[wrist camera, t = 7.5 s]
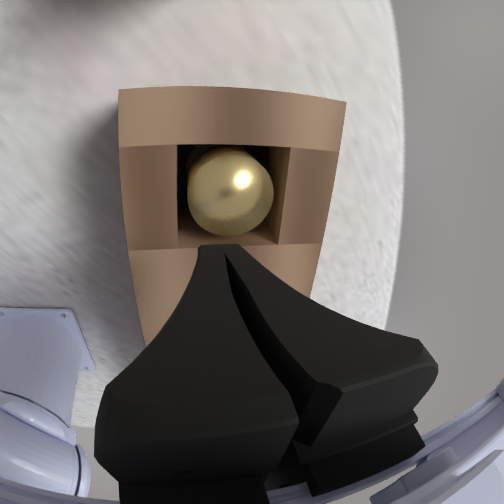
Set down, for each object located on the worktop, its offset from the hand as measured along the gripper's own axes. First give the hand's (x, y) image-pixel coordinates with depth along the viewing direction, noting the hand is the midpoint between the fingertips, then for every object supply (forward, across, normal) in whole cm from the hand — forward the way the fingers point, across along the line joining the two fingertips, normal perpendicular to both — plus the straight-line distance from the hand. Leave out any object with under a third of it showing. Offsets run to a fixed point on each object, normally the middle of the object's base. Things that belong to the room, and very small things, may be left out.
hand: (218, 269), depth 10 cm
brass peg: (+10, -1, -1) cm, 10 cm away
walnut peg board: (+10, -1, +5) cm, 12 cm away
